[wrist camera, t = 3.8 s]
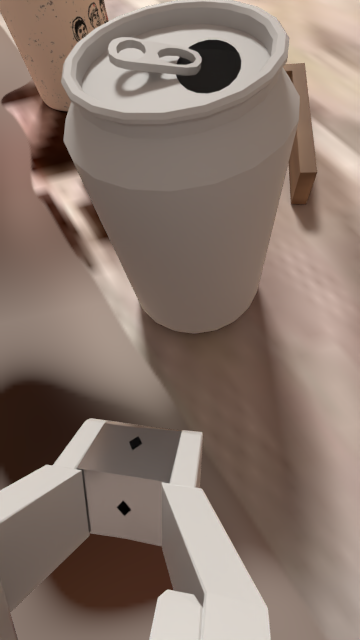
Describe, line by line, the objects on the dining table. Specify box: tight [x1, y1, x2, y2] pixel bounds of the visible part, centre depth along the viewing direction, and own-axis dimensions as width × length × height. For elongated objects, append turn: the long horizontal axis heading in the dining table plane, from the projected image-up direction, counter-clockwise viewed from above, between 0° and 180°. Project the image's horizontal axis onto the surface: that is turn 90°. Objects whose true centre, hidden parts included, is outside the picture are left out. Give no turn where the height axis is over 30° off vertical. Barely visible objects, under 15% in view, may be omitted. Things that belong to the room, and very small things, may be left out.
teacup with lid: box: [0, 0, 109, 111], centre depth 26 cm, size 12×9×12 cm
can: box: [61, 0, 300, 334], centre depth 13 cm, size 8×8×12 cm
